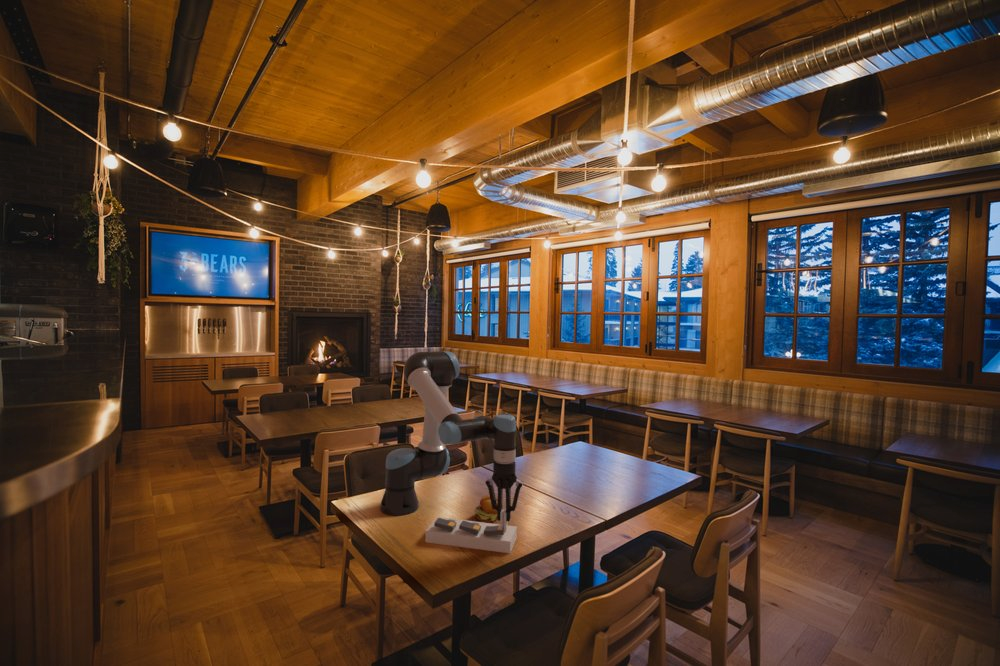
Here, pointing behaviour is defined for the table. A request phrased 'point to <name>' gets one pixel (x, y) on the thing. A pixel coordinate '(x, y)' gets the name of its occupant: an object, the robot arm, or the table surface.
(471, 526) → the rocker middle
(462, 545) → the rocker switch panel
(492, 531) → the rocker right
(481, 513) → the cheeseburger
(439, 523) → the rocker left
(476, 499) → the table surface
